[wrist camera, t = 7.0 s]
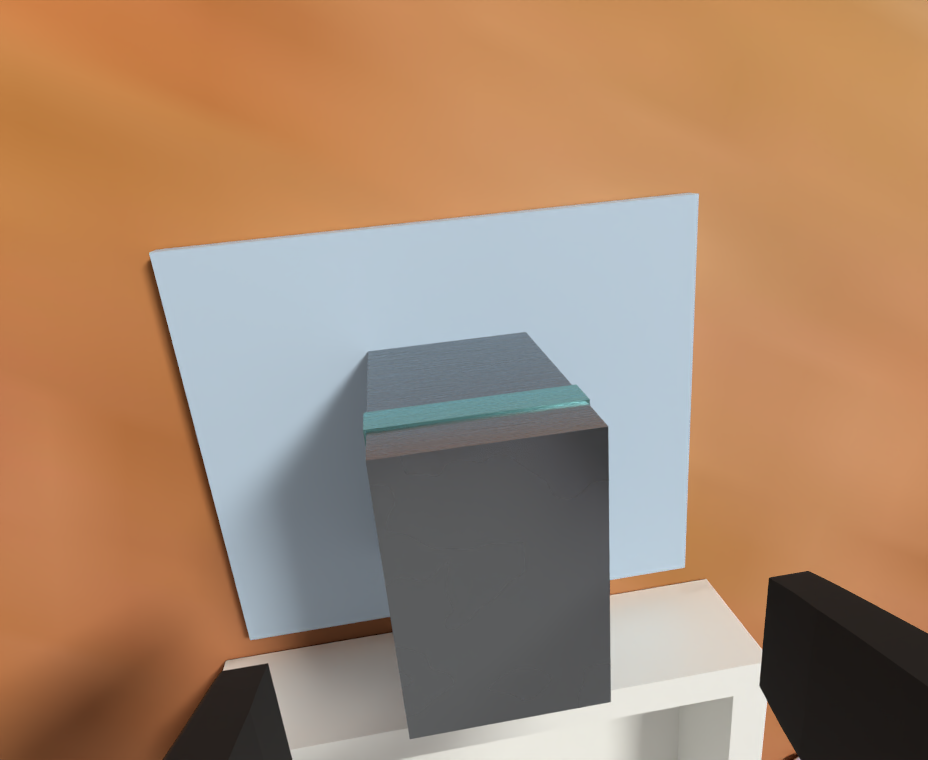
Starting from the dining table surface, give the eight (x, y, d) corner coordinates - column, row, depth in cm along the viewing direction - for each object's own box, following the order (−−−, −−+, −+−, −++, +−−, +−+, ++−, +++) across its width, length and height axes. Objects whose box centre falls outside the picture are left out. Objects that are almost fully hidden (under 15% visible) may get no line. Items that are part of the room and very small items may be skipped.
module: (527, 329, 16) (611, 423, 10) (538, 533, 18) (613, 703, 12) (365, 349, 16) (361, 458, 10) (396, 556, 18) (407, 741, 12)
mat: (689, 192, 16) (698, 194, 15) (677, 557, 20) (684, 567, 19) (156, 249, 15) (148, 252, 14) (253, 628, 18) (250, 640, 18)
